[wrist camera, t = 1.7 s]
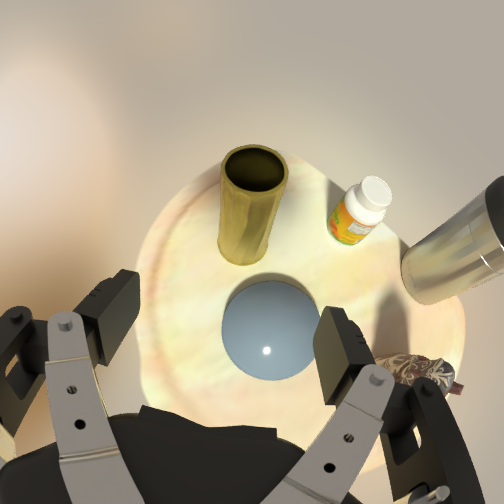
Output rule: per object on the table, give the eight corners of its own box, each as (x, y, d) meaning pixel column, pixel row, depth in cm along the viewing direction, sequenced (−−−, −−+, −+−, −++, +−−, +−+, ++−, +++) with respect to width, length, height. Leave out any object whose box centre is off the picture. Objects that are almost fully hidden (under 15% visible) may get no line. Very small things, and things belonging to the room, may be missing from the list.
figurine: (385, 342, 30) (450, 328, 19) (416, 373, 29) (481, 368, 18) (353, 387, 28) (414, 394, 17) (386, 416, 27) (450, 429, 15)
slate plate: (309, 280, 32) (313, 276, 31) (323, 370, 29) (328, 370, 27) (217, 288, 31) (217, 285, 30) (227, 384, 27) (227, 386, 26)
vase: (207, 237, 33) (200, 160, 20) (246, 212, 35) (260, 130, 22) (238, 276, 32) (249, 215, 19) (277, 247, 34) (310, 176, 21)
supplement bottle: (328, 207, 37) (355, 163, 28) (362, 218, 37) (396, 179, 28) (324, 241, 35) (355, 202, 26) (360, 251, 35) (398, 217, 26)
